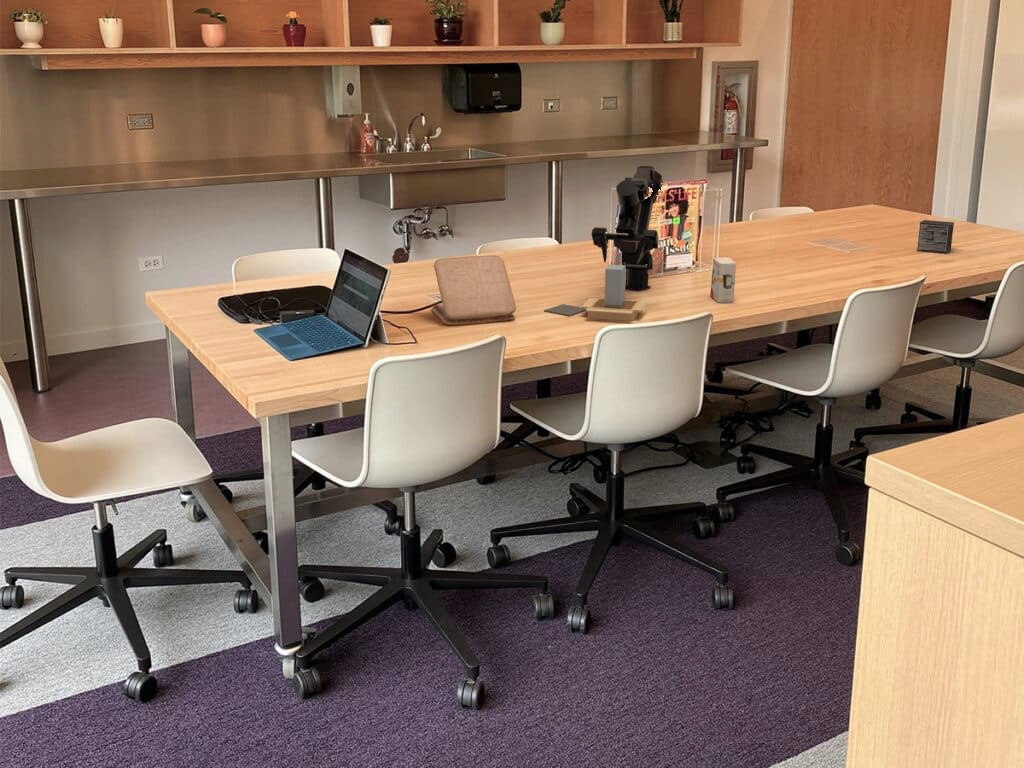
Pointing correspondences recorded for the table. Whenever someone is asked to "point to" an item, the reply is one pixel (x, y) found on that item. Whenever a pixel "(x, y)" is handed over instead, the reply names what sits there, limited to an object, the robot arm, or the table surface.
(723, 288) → the ink box
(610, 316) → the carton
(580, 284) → the table surface
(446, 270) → the case
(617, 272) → the slate box
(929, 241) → the small box
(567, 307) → the mat
